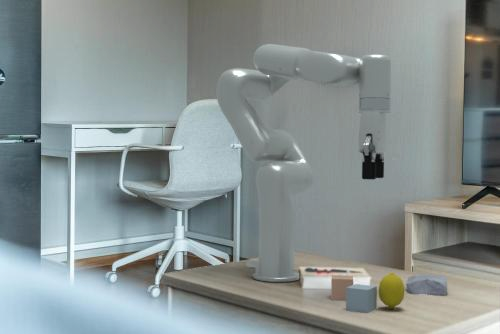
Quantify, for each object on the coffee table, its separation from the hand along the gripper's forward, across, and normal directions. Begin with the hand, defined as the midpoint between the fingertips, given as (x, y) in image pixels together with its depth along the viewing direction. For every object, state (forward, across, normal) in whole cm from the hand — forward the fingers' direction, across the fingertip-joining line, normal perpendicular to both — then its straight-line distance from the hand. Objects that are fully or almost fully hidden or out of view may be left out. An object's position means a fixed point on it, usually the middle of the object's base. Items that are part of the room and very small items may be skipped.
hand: (373, 178), depth 178 cm
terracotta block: (+28, +8, -5) cm, 30 cm away
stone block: (+28, -10, +12) cm, 32 cm away
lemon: (+28, +15, +8) cm, 33 cm away
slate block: (+28, +18, +2) cm, 33 cm away
